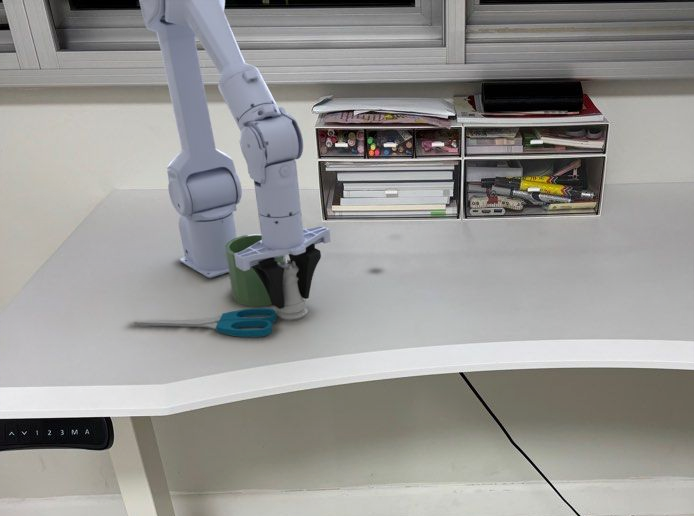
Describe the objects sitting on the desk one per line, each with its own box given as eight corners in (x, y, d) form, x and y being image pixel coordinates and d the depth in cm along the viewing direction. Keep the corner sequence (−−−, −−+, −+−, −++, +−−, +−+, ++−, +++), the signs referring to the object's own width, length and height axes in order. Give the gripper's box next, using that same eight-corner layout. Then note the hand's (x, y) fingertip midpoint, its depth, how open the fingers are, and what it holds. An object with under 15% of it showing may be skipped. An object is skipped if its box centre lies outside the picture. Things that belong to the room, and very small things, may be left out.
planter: (222, 293, 121) (214, 244, 117) (268, 277, 126) (262, 229, 122) (253, 311, 116) (245, 261, 112) (300, 294, 121) (294, 244, 117)
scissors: (269, 330, 109) (124, 331, 109) (270, 336, 110) (126, 337, 110) (277, 308, 115) (140, 309, 115) (278, 313, 115) (142, 315, 115)
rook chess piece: (313, 310, 117) (308, 259, 112) (299, 323, 113) (293, 272, 109) (286, 305, 118) (280, 255, 113) (271, 318, 114) (264, 267, 110)
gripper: (250, 232, 100) (263, 327, 108) (340, 204, 108) (347, 294, 116) (220, 218, 104) (235, 310, 112) (309, 192, 113) (318, 279, 120)
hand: (290, 301), depth 114 cm, fingers open, 4 cm apart
